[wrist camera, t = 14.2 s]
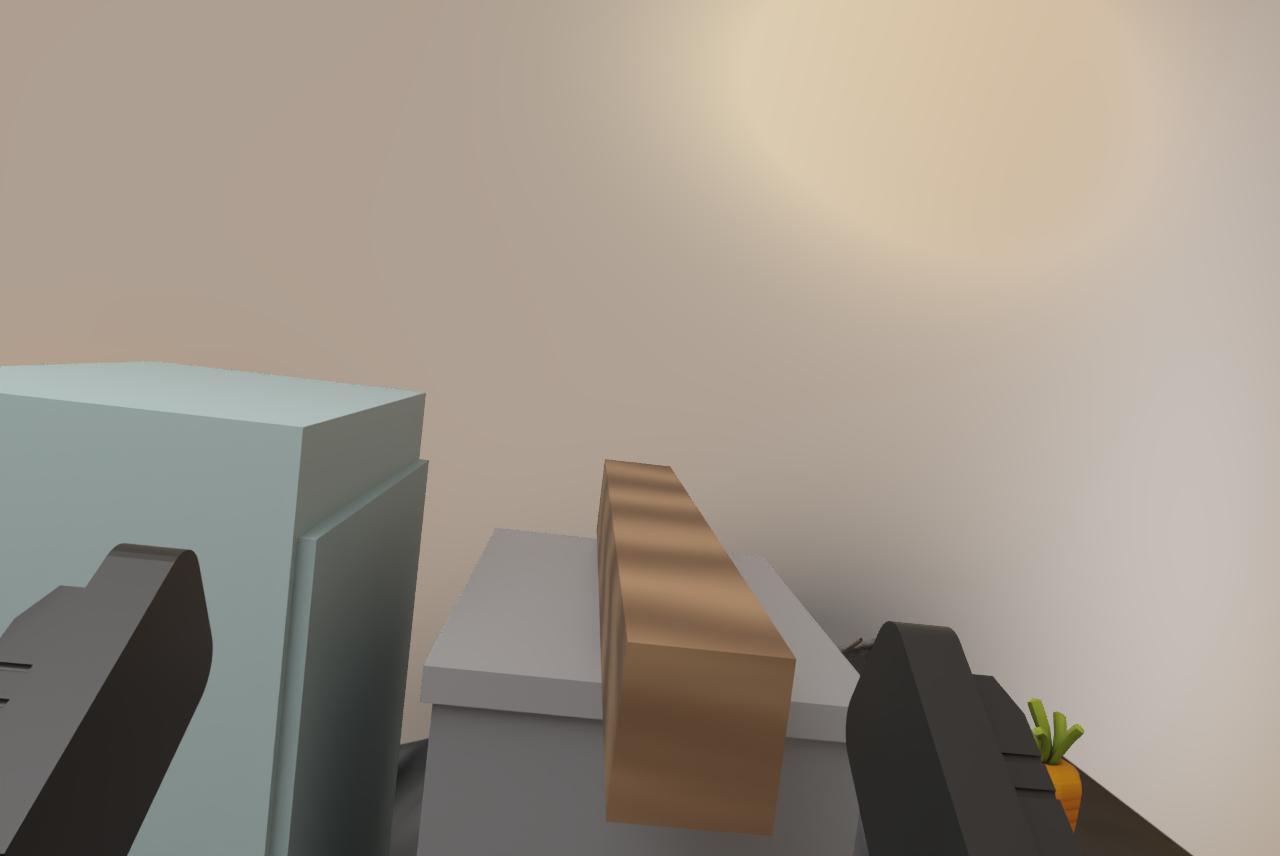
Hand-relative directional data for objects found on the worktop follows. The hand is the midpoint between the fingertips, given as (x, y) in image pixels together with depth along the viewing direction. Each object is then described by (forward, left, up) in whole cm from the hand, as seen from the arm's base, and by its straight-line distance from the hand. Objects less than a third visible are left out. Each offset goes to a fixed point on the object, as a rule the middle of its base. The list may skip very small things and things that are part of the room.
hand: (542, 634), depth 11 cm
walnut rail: (-16, +13, -5) cm, 21 cm away
